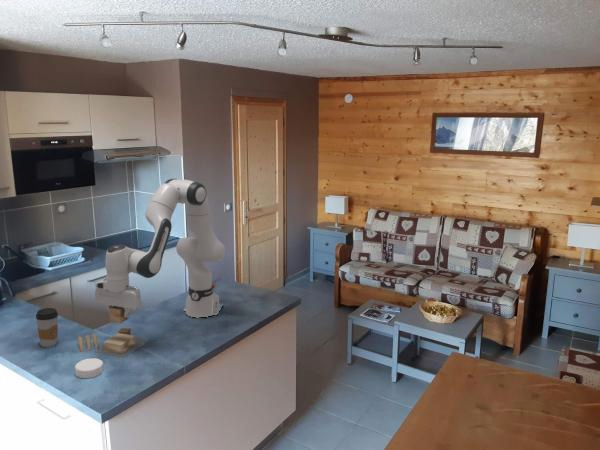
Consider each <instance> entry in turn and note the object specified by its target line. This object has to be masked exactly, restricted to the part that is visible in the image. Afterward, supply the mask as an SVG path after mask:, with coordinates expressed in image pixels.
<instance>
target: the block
mask: <svg viewBox="0 0 600 450" xmlns="http://www.w3.org/2000/svg"><path fill="white" fill-rule="evenodd" d="M131 331H132V330H131V327H130V328H129V327H121V328H120V329H119V330H118V333H122V334H128V335H132V332H131ZM118 333H117V334H118Z"/></svg>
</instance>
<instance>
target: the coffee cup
mask: <svg viewBox="0 0 600 450" xmlns="http://www.w3.org/2000/svg"><path fill="white" fill-rule="evenodd" d="M58 316H59V314H58V311H57V309H56V308H53V307H46V308H41V309H39V310H37V311H36V314H35V319H36V324H37V331H38V332H37V333H38V338H39V345H40V346H41V347H42V348H52V347H54V346H56V345H57V343H58V333H59V332H58V326H59V325H58Z"/></svg>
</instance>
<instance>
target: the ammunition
mask: <svg viewBox="0 0 600 450" xmlns="http://www.w3.org/2000/svg"><path fill="white" fill-rule="evenodd" d="M84 337H85V345H86V346H87V347H86V348H87V351H91V350H92V345H91V343H92V342H93V344H94V348H95V349H96V350H99V345H100V344H99V339H98V335H97V333H93V334H92V342H91V337H90V334H87V335H85V336H84ZM77 340H78V341H77V342H78V344H77V345H78V347H79V351H80V352H81V353H82V352H84V351H85V349H84V340H83V336H82V335H81V336H77Z"/></svg>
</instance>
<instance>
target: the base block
mask: <svg viewBox="0 0 600 450" xmlns="http://www.w3.org/2000/svg"><path fill="white" fill-rule="evenodd" d="M133 345H135V335H133V334H131V335H128V334H122V333H116V334H114V335H113V336H111V337H110V338H108V339H107V340H105V341H104V342H103V346H104V351H105V352H110V353H115V354H120V355H121V354H122V353H123V352H125V351H126V350H128V349H129V348H131V347H132V346H133Z"/></svg>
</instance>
